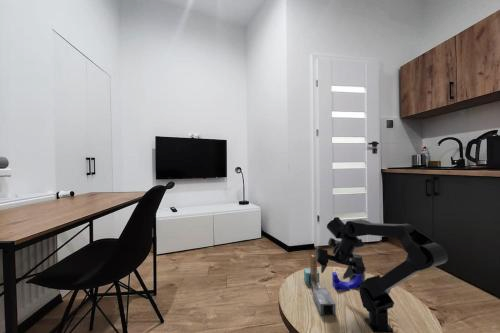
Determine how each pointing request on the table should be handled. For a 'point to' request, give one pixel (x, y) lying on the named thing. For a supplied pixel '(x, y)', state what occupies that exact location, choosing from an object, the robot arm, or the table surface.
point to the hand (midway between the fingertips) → (332, 275)
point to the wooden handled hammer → (313, 272)
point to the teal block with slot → (307, 274)
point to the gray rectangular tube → (324, 302)
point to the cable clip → (346, 285)
